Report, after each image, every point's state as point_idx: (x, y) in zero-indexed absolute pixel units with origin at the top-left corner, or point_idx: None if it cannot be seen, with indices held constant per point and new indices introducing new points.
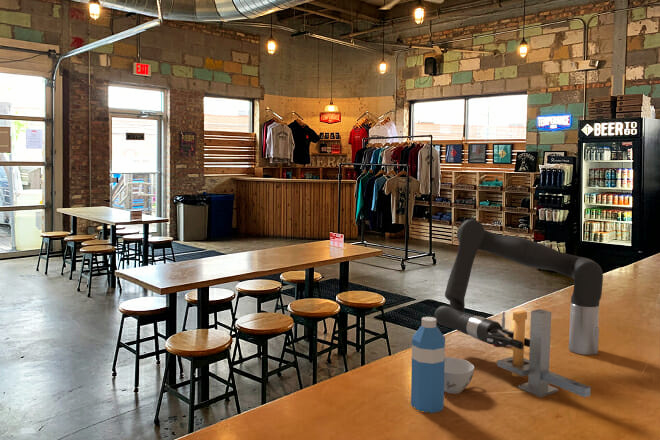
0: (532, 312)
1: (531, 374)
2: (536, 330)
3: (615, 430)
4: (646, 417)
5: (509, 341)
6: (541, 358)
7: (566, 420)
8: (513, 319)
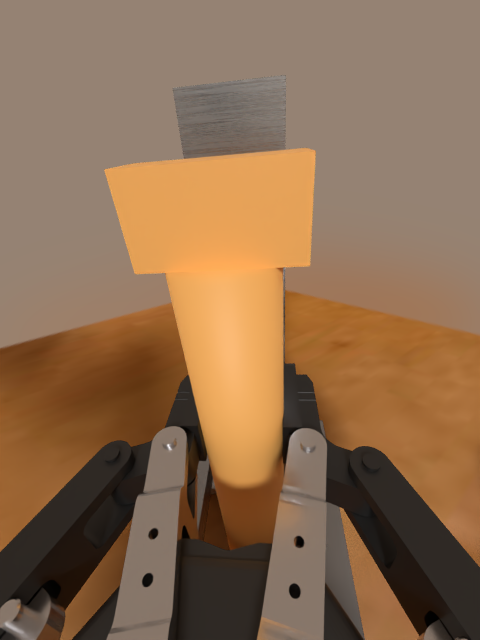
0: (284, 89)
1: None
2: None
3: (287, 297)
4: None
5: (327, 445)
6: None
7: (338, 331)
8: (309, 252)
